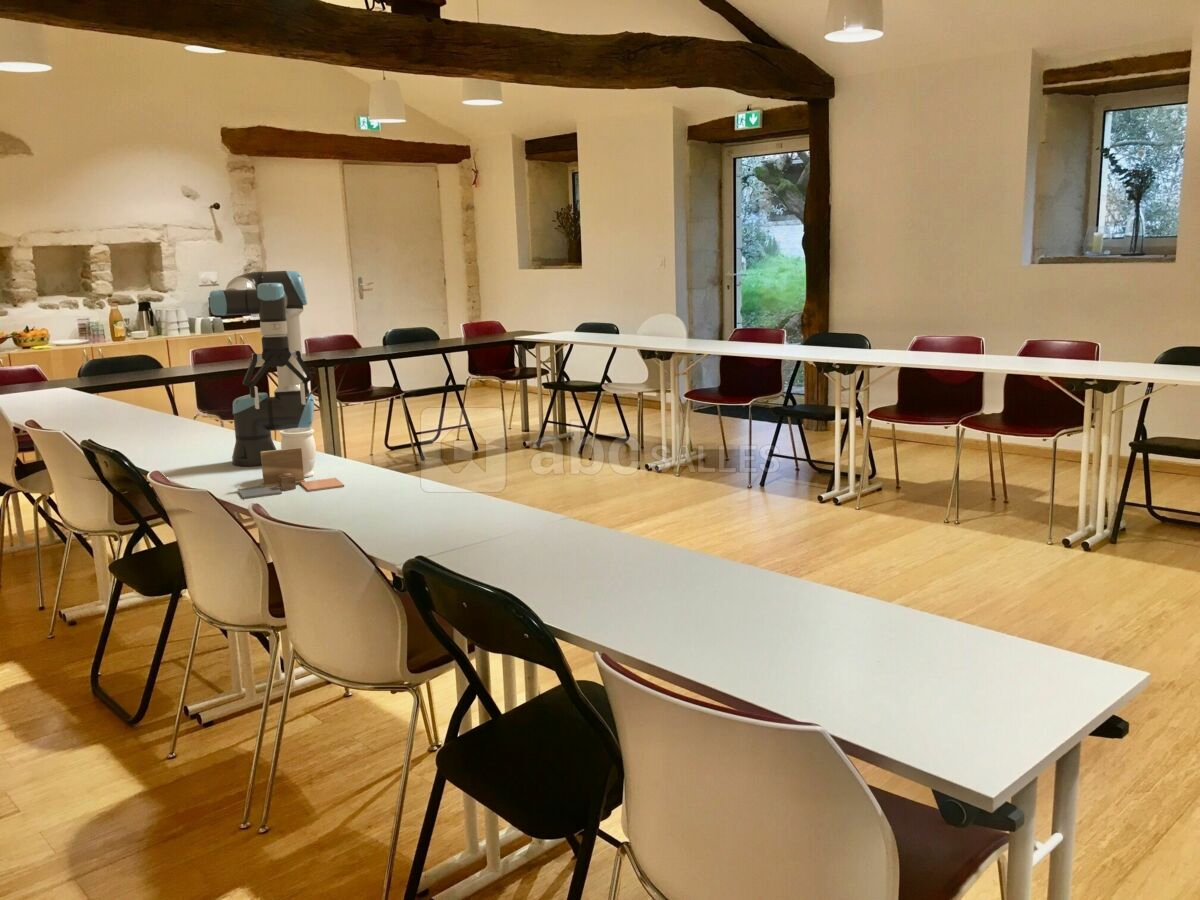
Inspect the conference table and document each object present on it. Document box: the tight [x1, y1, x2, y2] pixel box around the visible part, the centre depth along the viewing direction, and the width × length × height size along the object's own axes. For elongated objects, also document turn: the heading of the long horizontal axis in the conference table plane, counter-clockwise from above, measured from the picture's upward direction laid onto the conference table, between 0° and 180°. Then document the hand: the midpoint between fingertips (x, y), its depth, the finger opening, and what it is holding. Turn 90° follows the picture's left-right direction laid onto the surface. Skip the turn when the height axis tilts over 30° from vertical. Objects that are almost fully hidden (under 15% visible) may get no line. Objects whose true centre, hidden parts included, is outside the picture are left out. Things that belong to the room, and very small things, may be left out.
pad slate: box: [236, 485, 283, 500], centre depth 301 cm, size 11×11×1 cm
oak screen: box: [261, 447, 306, 488], centre depth 310 cm, size 5×12×11 cm, turn 118°
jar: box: [279, 427, 317, 479], centre depth 320 cm, size 11×10×15 cm
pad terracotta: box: [299, 477, 345, 492], centre depth 309 cm, size 11×11×1 cm
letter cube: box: [279, 473, 297, 492], centre depth 305 cm, size 4×4×4 cm
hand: (280, 406), depth 300 cm, fingers open, 13 cm apart
